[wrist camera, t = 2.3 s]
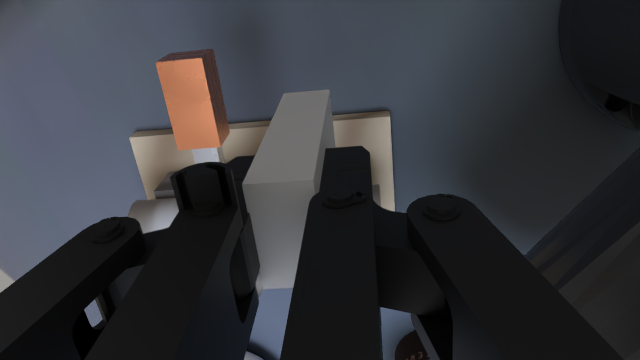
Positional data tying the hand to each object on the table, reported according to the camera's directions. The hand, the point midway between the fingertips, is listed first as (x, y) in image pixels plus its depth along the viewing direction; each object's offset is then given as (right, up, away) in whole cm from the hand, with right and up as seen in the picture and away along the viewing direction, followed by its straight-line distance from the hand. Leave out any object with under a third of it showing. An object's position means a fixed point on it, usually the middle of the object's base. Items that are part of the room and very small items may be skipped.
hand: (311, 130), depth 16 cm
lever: (-5, -2, +9) cm, 10 cm away
